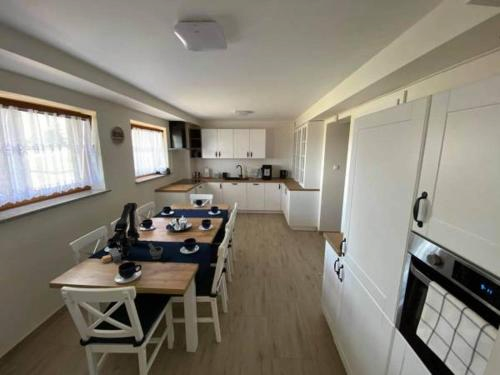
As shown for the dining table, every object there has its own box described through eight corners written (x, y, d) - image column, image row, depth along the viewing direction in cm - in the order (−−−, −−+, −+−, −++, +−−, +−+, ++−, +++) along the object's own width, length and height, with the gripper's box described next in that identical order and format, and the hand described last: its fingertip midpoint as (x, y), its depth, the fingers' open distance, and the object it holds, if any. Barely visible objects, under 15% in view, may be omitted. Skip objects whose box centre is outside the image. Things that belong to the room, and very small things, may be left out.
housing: (116, 253, 177) (116, 247, 176) (121, 261, 166) (120, 254, 165) (109, 255, 174) (108, 249, 173) (113, 263, 162) (113, 256, 161)
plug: (127, 253, 178) (127, 249, 177) (129, 255, 175) (128, 251, 174) (101, 261, 165) (100, 257, 164) (102, 263, 162) (101, 259, 161)
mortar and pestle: (165, 254, 177) (164, 241, 174) (159, 260, 167) (158, 246, 165) (152, 254, 178) (151, 240, 175) (146, 259, 168) (145, 245, 166)
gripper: (136, 237, 170) (138, 255, 173) (130, 230, 183) (131, 247, 186) (121, 241, 162) (122, 259, 165) (115, 234, 176) (117, 251, 178)
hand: (124, 254), depth 174 cm, fingers open, 9 cm apart
